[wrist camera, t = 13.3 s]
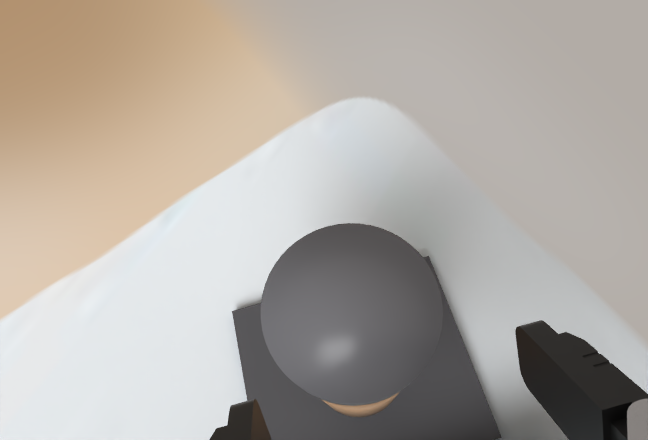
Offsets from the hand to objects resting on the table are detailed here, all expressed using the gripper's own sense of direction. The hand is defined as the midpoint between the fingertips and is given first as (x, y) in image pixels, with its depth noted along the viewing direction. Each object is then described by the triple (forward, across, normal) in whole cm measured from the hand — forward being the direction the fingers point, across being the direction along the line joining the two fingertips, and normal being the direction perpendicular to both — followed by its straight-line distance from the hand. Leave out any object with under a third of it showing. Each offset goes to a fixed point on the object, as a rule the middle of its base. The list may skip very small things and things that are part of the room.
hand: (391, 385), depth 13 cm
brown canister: (+9, +1, +6) cm, 11 cm away
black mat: (+10, +1, +6) cm, 12 cm away
